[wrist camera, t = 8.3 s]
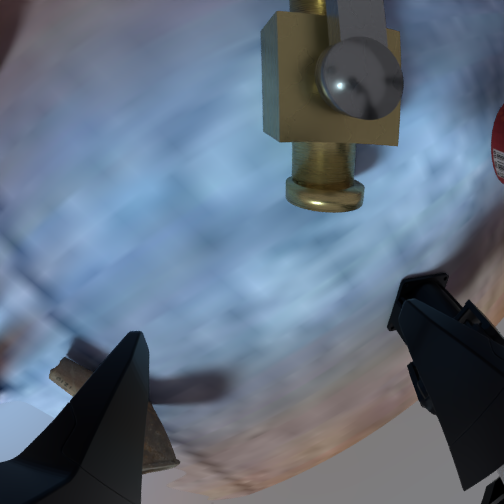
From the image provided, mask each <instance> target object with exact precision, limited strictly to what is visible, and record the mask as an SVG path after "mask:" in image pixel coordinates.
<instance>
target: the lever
mask: <svg viewBox="0 0 504 504" xmlns="http://www.w3.org/2000/svg"><path fill="white" fill-rule="evenodd" d="M325 2H326V12H327V24H328V36H329V46H328V47H327V48H326V49H324V50H323V52H322V53H321V54H320V56H319V57H318V59H317V62H316V65H315V71H314V77H315V83H316V87H317V90H318V92H319V94H320V96H321V97H322V99H323V100H324V101H325V103H326V104H327V105H328V106H329V107H330V108H332V109H333V110H334V111H336V112H338V113H340V114H342V115H345V116H349V117H354V118H359V119H364V120H376V119H380V118H383V117H385V116H387V115H388V114H390V113H391V112H392V111H393V110H394V109H395V108H396V107H397V105H398V103H399V101H400V99H401V96H402V93H403V75H402V71H401V67H400V65H399V63H398V61H397V59H396V58H395V56H394V55H393V53H392V52H391V51H390V50H389V49H388V43H387V31H386V20H385V11H384V3H383V0H325Z"/></svg>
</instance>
